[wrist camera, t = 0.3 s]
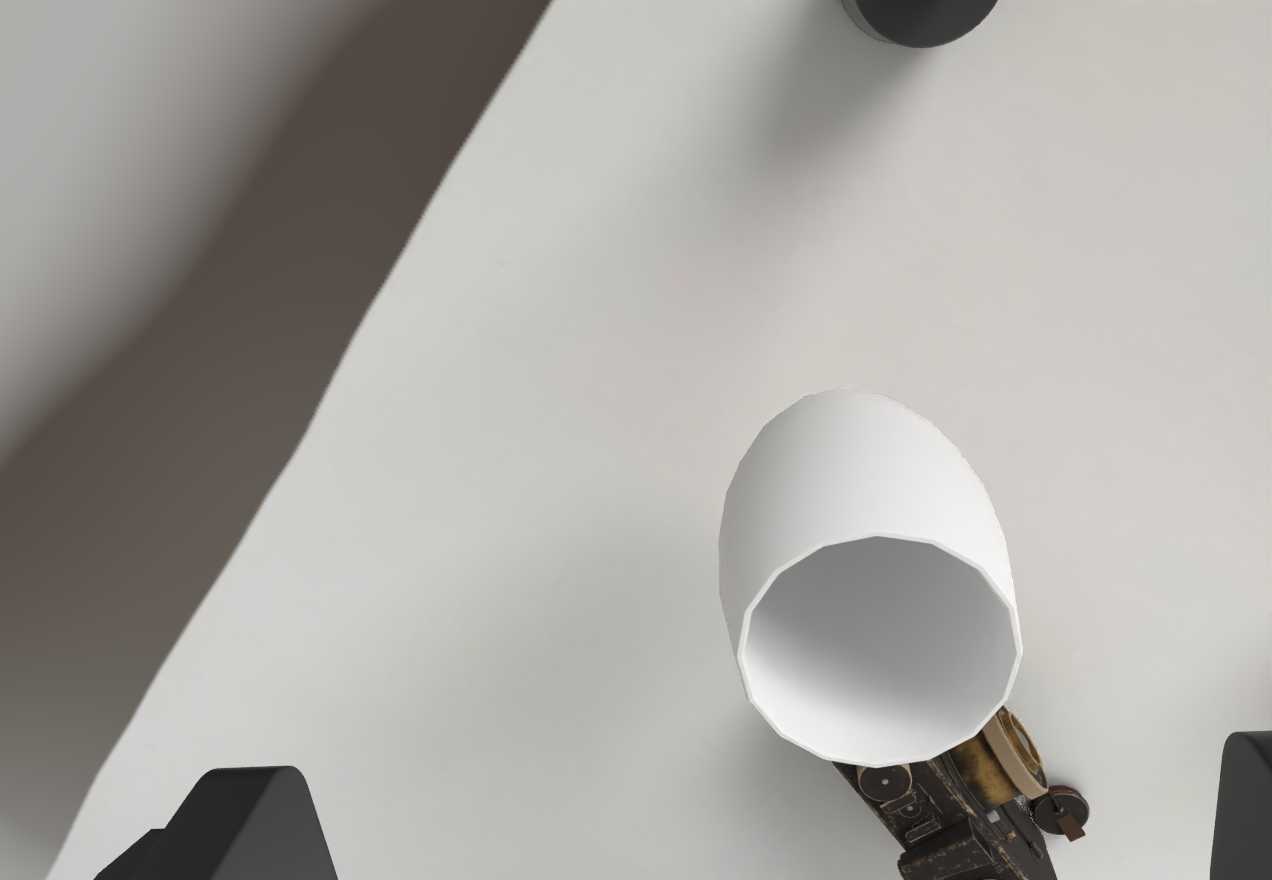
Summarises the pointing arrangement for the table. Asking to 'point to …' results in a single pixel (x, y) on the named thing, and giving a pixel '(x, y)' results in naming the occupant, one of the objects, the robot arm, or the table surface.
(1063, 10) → the table surface
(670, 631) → the table surface
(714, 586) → the table surface
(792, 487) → the white tall cylinder
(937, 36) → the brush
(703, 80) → the table surface
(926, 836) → the camera
